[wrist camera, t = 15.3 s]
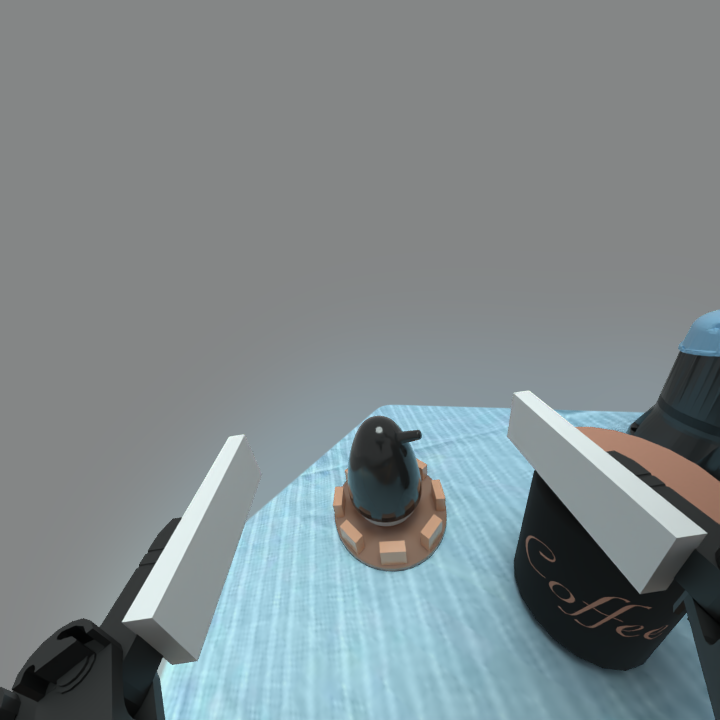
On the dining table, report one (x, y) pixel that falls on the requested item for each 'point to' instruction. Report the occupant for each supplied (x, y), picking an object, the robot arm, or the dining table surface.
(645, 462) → the coffee jar
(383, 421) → the pump dispenser
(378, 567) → the castellated collar
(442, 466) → the dining table surface
